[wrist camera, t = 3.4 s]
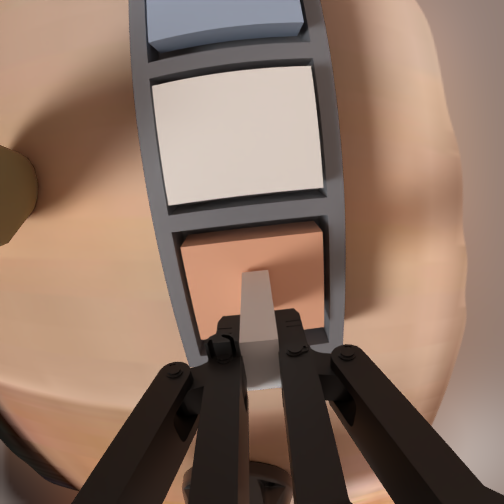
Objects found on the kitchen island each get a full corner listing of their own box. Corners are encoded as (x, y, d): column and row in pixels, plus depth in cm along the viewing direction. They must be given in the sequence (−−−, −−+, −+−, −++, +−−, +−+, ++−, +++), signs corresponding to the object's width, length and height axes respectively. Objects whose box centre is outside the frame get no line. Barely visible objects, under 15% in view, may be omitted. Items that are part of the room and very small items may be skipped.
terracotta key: (316, 308, 21) (323, 327, 19) (205, 319, 22) (201, 339, 19) (313, 220, 19) (322, 231, 17) (188, 234, 19) (180, 247, 17)
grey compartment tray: (331, 324, 24) (342, 351, 20) (196, 339, 24) (189, 366, 21) (293, -51, 13) (300, -75, 10) (144, -32, 14) (130, -53, 10)
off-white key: (313, 181, 17) (323, 187, 15) (178, 197, 18) (168, 205, 15) (302, 75, 15) (310, 65, 13) (164, 92, 15) (152, 86, 13)
